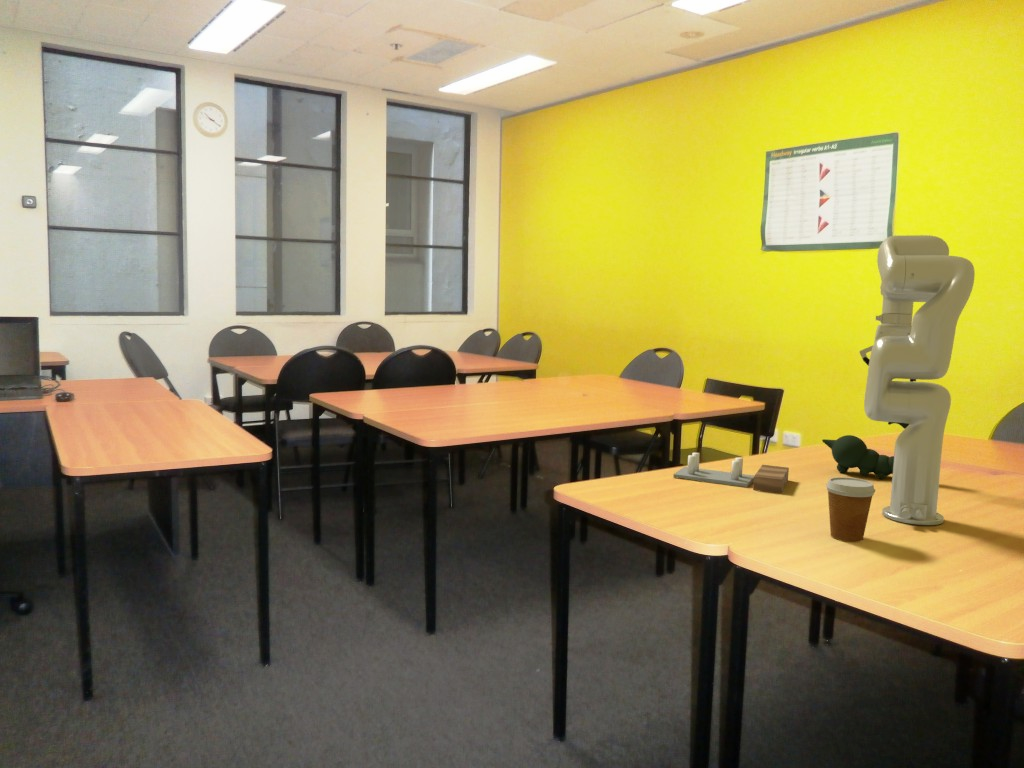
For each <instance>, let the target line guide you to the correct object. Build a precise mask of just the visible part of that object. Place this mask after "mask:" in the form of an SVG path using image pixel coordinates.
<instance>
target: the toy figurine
mask: <svg viewBox="0 0 1024 768" xmlns="http://www.w3.org/2000/svg"><path fill="white" fill-rule="evenodd" d="M887 424H888V425H889V426H890V425H893V424H897V425H899V426H901V427H902V428H903V430H904V429H905V428H906V427H907V426H908V425H909V424H907V423H897V422H887ZM821 441H822V443H824V444H825V445H826V447H827V446H828V448H830V450H831V456H832V458H833V460H834V461H835V462H836V463H837V465H836V470H837V472H839V473H842V474H845V473H847V472H848V471H849V469H853V468H854V469H855V468H858V470H859V474H860V475H862V476H864V477H867V476H868V475H869V474H871V473H874V475H875V476H876V477H877V479H879V480H884V479H885V477H888V476H891V475H893V464H894V455H893V456H888V455H885V454H880V453H879V452H877V450H875V449H872V448H868V446H867V445H866V443H865V442H864V441H863V439H861V438H859V437H858V436H855V435H853V434H852V435H851V434H847V435H842V436H840V437H838V438H837V439H822V440H821Z"/></svg>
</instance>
